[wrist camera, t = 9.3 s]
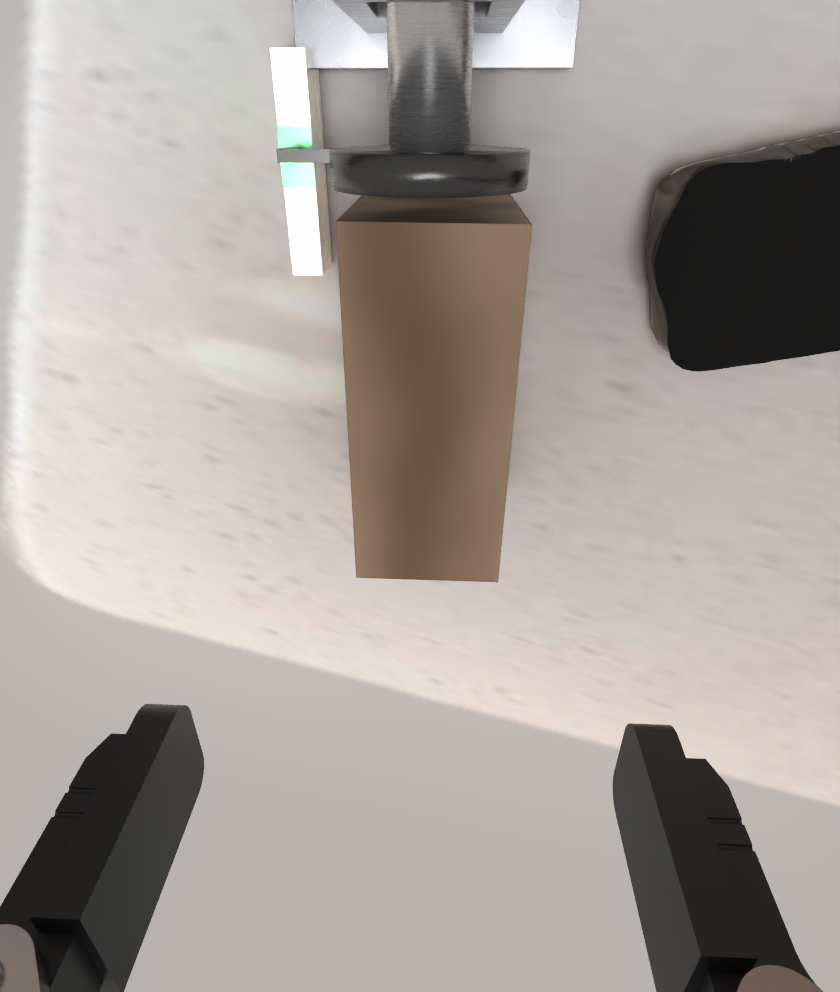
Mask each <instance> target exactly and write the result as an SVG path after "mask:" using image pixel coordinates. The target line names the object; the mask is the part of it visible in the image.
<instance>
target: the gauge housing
mask: <svg viewBox="0 0 840 992" xmlns="http://www.w3.org/2000/svg"><path fill="white" fill-rule="evenodd" d="M386 2H475V7H474V34H473V62H472V69H569V68H572V67H573V60H574V51H575V42H576V32H577V23H578V13H579V4H580V0H292V8H293V20H294V32H295V43H296V48H270V56H271V66H272V75H273V85H274V95H275V105H276V114H277V124H278V126H277V135H278V145H279V149H280V148H284V147H298V148H299V149H324V138H323V124H322V110H321V95H320V81H319V69H388V54H387V9H386ZM280 164H281V174H282V184H283V188H284V193H285V202H286V212H287V222H288V232H289V241H290V251H291V261H292V271H293V275H323V274H324V273H325V271H326V270H327V269H328V267H329V266H330V265H331V264H332V252H331V238H330V224H329V209H328V195H327V181H326V167H325V163H280Z"/></svg>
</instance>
